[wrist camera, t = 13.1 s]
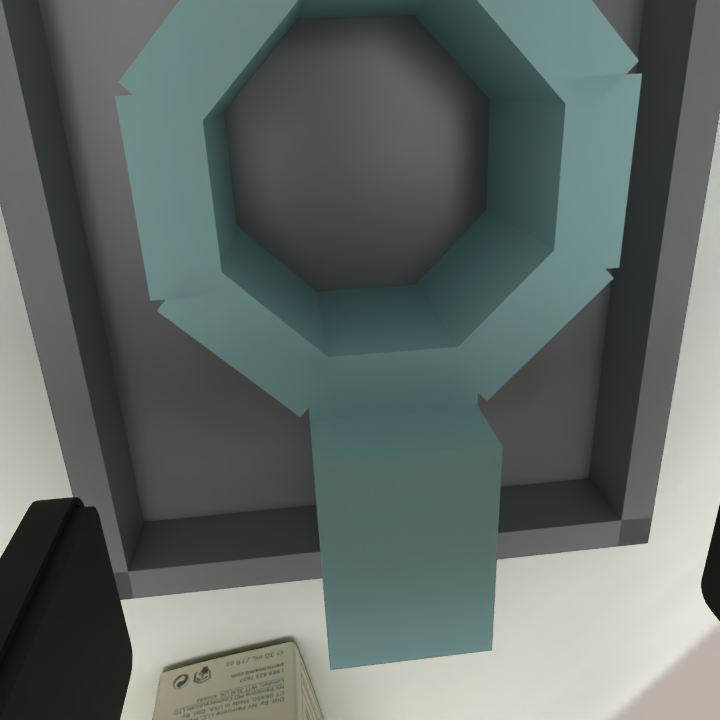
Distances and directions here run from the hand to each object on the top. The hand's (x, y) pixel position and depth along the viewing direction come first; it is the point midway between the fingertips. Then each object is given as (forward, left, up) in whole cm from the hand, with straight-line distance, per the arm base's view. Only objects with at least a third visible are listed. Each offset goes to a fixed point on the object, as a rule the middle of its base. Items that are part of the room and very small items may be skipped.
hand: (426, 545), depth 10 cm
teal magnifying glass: (-2, 0, -7) cm, 7 cm away
